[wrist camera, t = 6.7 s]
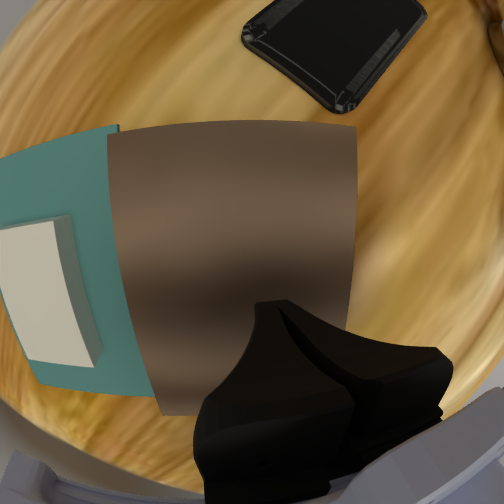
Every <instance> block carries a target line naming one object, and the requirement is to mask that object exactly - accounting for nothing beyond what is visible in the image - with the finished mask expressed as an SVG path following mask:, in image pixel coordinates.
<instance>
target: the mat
mask: <svg viewBox="0 0 504 504" xmlns="http://www.w3.org/2000/svg"><path fill="white" fill-rule="evenodd" d="M118 132H119V125H118V124H115V125H110V126H106V127H101V128H96V129H92V130H88V131H84V132H80V133H76V134H72V135H68V136H65V137H61V138H58V139H54V140H51V141H48V142H45V143H42V144H39V145H36V146H33V147H30V148H27V149H24V150H22V151H19V152H16V153H14V154H11V155H9V156H6V157H4V158H1V159H0V228H2V227H4V226H7V225H12V224H17V223H23V222H28V221H33V220H39V219H45V218H51V217H57V216H63V215H69V214H71V220H72V227H73V234H74V240H75V246H76V251H77V256H78V261H79V266H80V271H81V275H82V279H83V284H84V288H85V292H86V295H87V299H88V303H89V306H90V310H91V313H92V317H93V320H94V323H95V326H96V329H97V332H98V335H99V338H100V341H101V344H102V347H103V351H102V353H101V355H100V357H99V359H98V361H97V363H96V365H95V367H94V368H93V367H81V366H72V365H63V364H56V363H49V362H42V361H36V360H30V359H28V357H27V355H26V353H25V351H24V349H23V347H22V345H21V342H20V340H19V338H18V335H17V333H16V330H15V328H14V325H13V323H12V320H11V318H10V315H9V312H8V309H7V307H6V304H5V301H4V298H3V294H2V291H1V288H0V294H1V297H2V300H3V303H4V306H5V309H6V312H7V315H8V317H9V320H10V322H11V325H12V328H13V330H14V332H15V335H16V337H17V340H18V342H19V344H20V346H21V348H22V351H23V353H24V355H25V357H26V359H27V361H28V363H29V365H30V367H31V369H32V371H33V373H34V375H35V376H36V378H37V380H38V382H39V384H44V385H49V386H54V387H60V388H66V389H72V390H79V391H86V392H94V393H103V394H114V395H128V396H150V397H155V395H154V392H153V389H152V386H151V384H150V381H149V378H148V375H147V372H146V369H145V366H144V363H143V360H142V357H141V353H140V350H139V347H138V343H137V340H136V336H135V333H134V329H133V325H132V322H131V318H130V314H129V310H128V305H127V301H126V297H125V292H124V288H123V283H122V278H121V273H120V267H119V262H118V256H117V250H116V244H115V237H114V230H113V222H112V213H111V204H110V193H109V180H108V161H107V134H112V133H118Z"/></svg>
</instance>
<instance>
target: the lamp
mask: <svg viewBox="0 0 504 504" xmlns="http://www.w3.org/2000/svg"><path fill="white" fill-rule="evenodd" d="M488 36H489V40H490V43H491V47H492V49H493V52H494V55H495V57H496V60H497V62H498V64H499V67H500V69H501V71H502V73H503V75H504V20H501V21H497V22H493V23H490V24H489V25H488Z"/></svg>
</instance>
